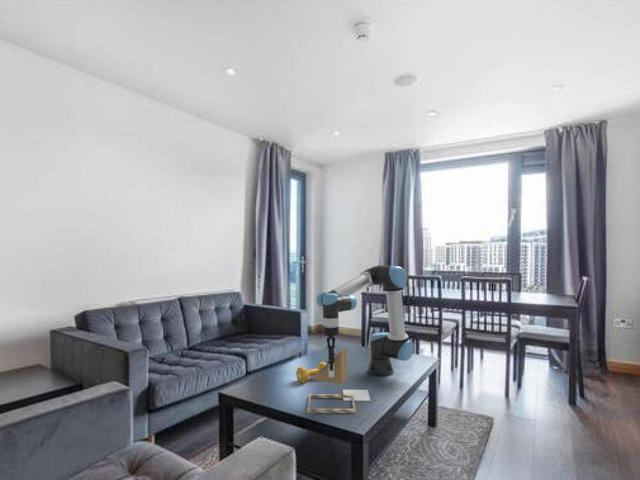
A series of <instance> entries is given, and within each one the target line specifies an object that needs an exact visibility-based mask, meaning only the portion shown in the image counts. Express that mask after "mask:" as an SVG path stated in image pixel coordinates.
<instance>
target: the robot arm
mask: <svg viewBox="0 0 640 480" xmlns="http://www.w3.org/2000/svg"><path fill="white" fill-rule="evenodd" d="M407 282H408V275H407V272H406V270H405V269H404V268H403V267H401V266H397V265H375V266H372V267H369V268H367V269H365V270H363V271H361V272H360V273H359V275H358V276H356V277H354V278H352V279H350V280H349V281H347V282H344V283H343V284H341V285H339V286H337V287H335V288H334V289H331V290H330V291H328V292H320V293H319V294H318V295H317V297H316V303H317V305H318V306H319V307H321V308H322V319H321V322H322V326H323V327H322V335H324V336H326V343H327V344H326V345H327V346H326V347H327V349H328V361H327V362H326V363H327V364H328V371H329V377H334V357H335V356H336V353H334V352H335V350H334V349H335V348H336V347H335V343H336V337H335V336H337V335H339V334H340V333H339V332H340V331H339V330H340V329H339V328H340V327H339V326H340V325H339V324H340V322H339V320H340V319H339V314H340V313H343V312H348V311H349V312H350V311H352V310H354V309H356V308H357V304H358V301H357V298H356V296H354V295H355V294H356V293H358V292H360V291H362V290H363V289H365V288H371V287H372V286H381V287H382V292H384V293H385V295H386V297H385V298H386V308H387V316H388V317H387V318H388V326H389V332H388V331H387V332H386V331H385V332H383V331H382V332H374V333H372V334H371V335H370V340H369V341H370V343H369V344H370V360H369V363H368V367H367V372H368V373H369V374H370V375H373V376H379V377H387V376H391V375H392V374H393V373H394V366H393V364H392V360H391V358H392V359H395V360H398V361H401V362H403V361H404V362H407V361H408V360H410V359H411V357H412V355H413V353H414V350H415V349H414V343H413V342H412V340H410V339H409V334H408V333H407V332H406V328H405V315H404V305H403V294H402V292H403V291H404V289H405V288H404V287H406V285H407ZM331 360H333V361H331Z"/></svg>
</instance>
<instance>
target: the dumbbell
mask: <svg viewBox="0 0 640 480" xmlns="http://www.w3.org/2000/svg"><path fill="white" fill-rule="evenodd" d="M327 364H328V363H327V362H325V361H320V362H318V364H317V366H316V368H311V369H307V368H306V367H305V366H299V367H297V368H296V371H295V376H296V379H297V381H298V383H301V384H306V383H307V382H308V380H309V378H310V377H314V376H315V375H316V374H317V373H318V372H319V371H320V370H321V369H322V368H323V367H325V366H326V365H327Z"/></svg>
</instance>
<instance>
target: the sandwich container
mask: <svg viewBox="0 0 640 480" xmlns="http://www.w3.org/2000/svg"><path fill="white" fill-rule="evenodd" d="M347 349H348V348H347V346H345V347H344V348H342V349H341V350H340V351H339V352H338V353H336V354H335V356H334V377H329V371H328V363H327V365H326V366H325V367H323V368H322V369H321V370H320V371H319V372H318V373H317V374H316V375H314V376H312V378H311V380H312V381H317V382H318V381H319V382H328V383H334V384H335V383H336V384H343V383H344V382H345V380H347V378H348V357H347V356H348V350H347ZM331 361H333V360H331Z"/></svg>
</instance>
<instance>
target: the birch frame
mask: <svg viewBox="0 0 640 480" xmlns="http://www.w3.org/2000/svg"><path fill="white" fill-rule="evenodd" d="M343 397H351V398H352V401H351V405H352V407H351V408H311V401H312V399H343ZM355 404H356V403H355V401H354V396H353V395H343V393H342V394H336V393H335V394H334V393H333V394H331V393H330V394H325V393H324V394H323V393H320V394H318V393H317V394H316V393H312V394H311V393H309V395H308V401H307V406H306V413H311V414H313V413H315V414H356V413H357V411H356V405H355Z"/></svg>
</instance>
